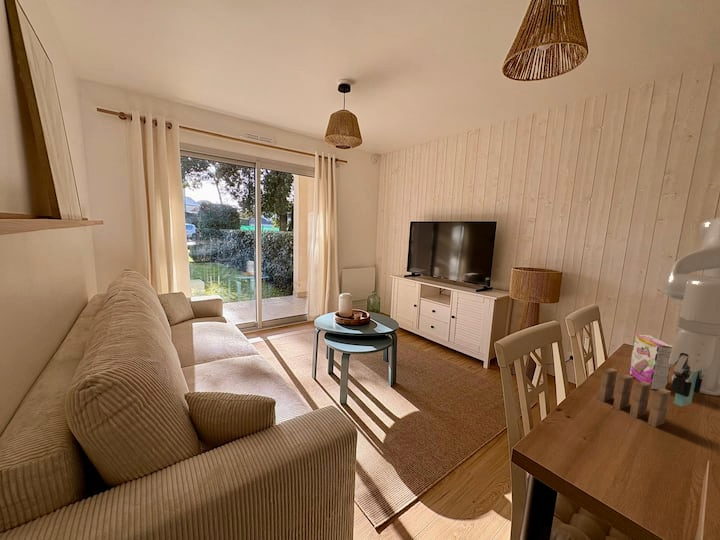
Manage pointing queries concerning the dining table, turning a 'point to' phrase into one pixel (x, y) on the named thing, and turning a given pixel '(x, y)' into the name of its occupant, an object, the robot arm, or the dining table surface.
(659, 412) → the domino
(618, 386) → the domino
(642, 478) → the dining table surface
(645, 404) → the domino
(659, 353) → the candy bar box
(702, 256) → the robot arm
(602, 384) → the domino
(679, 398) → the teal domino
